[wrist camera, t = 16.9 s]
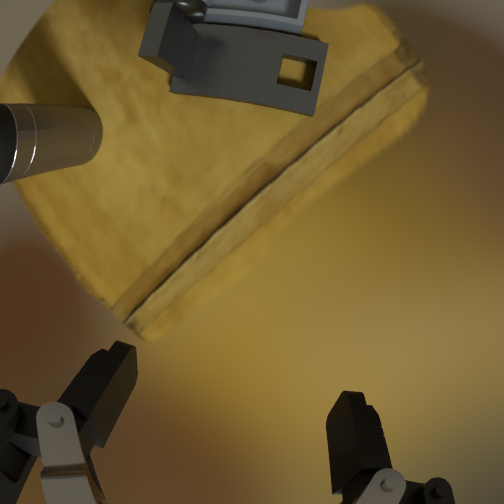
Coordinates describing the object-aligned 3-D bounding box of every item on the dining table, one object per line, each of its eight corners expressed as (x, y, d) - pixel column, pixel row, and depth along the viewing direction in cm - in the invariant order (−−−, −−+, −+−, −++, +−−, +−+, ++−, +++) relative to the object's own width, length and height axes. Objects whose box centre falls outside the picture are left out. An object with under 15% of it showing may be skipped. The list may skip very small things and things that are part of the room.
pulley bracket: (164, 93, 33) (115, 75, 21) (180, 26, 30) (142, -13, 18) (311, 116, 33) (329, 102, 21) (326, 46, 30) (347, 6, 17)
